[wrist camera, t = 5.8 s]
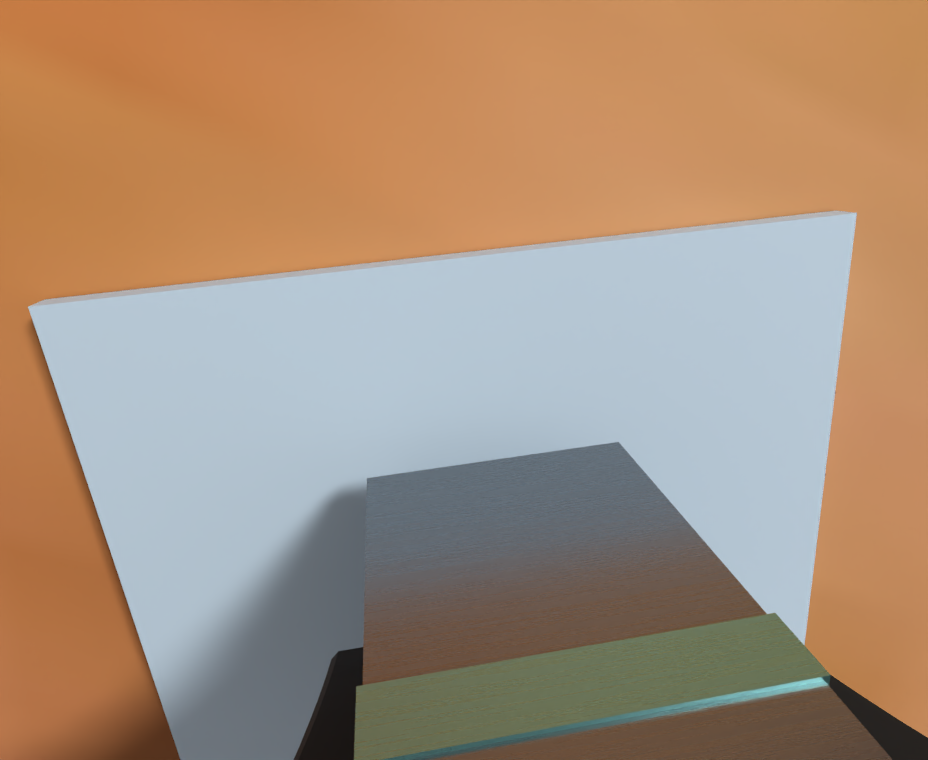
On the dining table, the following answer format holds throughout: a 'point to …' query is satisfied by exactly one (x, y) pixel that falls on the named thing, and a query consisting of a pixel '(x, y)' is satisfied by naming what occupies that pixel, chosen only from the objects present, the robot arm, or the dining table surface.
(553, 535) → the block
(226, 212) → the dining table surface
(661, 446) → the mat
